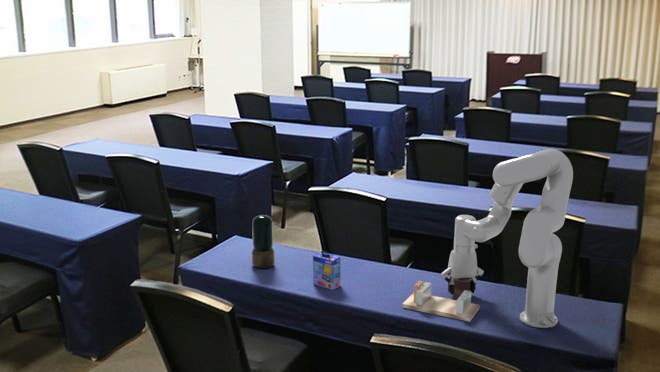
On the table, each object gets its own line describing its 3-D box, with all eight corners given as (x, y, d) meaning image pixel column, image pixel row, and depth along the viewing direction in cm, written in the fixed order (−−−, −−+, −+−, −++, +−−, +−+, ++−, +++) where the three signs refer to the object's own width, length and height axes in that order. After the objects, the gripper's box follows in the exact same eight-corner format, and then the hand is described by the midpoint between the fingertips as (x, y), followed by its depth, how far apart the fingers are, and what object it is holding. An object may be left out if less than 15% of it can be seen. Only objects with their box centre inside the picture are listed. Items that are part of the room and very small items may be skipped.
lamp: (248, 263, 286) (247, 214, 281) (269, 260, 290) (268, 211, 285) (257, 271, 278) (255, 220, 272) (278, 267, 282) (277, 217, 277)
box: (469, 300, 251) (470, 281, 249) (452, 298, 252) (453, 280, 250) (469, 293, 256) (470, 275, 255) (453, 292, 258) (454, 274, 256)
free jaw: (430, 295, 250) (431, 280, 248) (421, 305, 241) (422, 289, 240) (420, 293, 252) (421, 278, 250) (411, 303, 243) (411, 287, 242)
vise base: (479, 308, 243) (479, 304, 243) (469, 321, 233) (470, 317, 233) (413, 295, 254) (414, 291, 254) (402, 307, 244) (402, 303, 244)
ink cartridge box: (312, 284, 264) (312, 249, 261) (320, 280, 269) (320, 245, 265) (333, 290, 259) (333, 254, 255) (341, 285, 263) (341, 250, 260)
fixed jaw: (470, 304, 243) (471, 291, 242) (462, 314, 235) (463, 301, 233) (464, 303, 244) (464, 290, 243) (455, 313, 236) (456, 300, 235)
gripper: (481, 243, 255) (478, 286, 259) (438, 246, 251) (436, 290, 256) (490, 250, 248) (487, 294, 252) (445, 253, 244) (443, 298, 249)
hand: (461, 292), depth 254 cm, fingers closed on box, 7 cm apart
